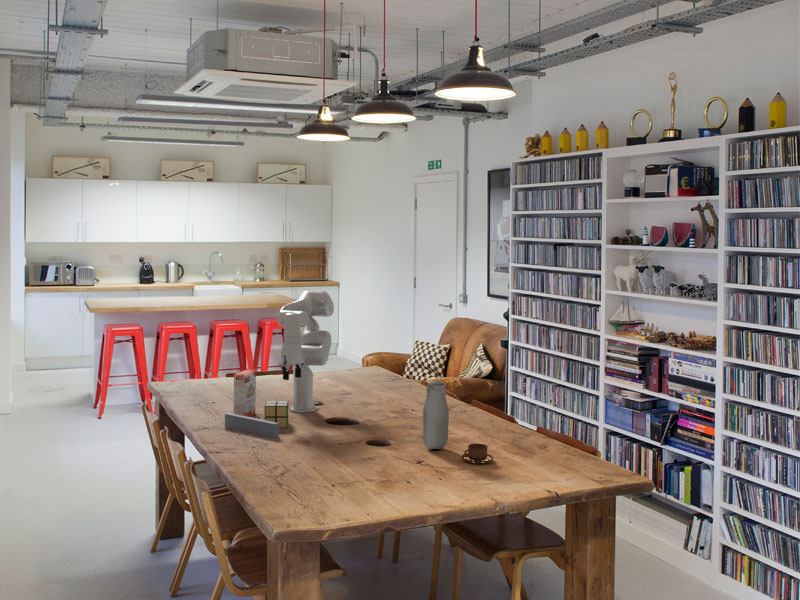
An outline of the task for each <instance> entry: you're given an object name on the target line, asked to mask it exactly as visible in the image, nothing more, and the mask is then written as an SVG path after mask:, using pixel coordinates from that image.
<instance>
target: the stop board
mask: <svg viewBox="0 0 800 600" xmlns="http://www.w3.org/2000/svg"><path fill="white" fill-rule="evenodd" d="M224 428H227V429H231V430H236V431H241V432H244V433H245V432H246V433H249V434H254V435H260V436H263V437H268V438H273V439H277V438H280V428H279V423H276V422H271V421H266V420H265V419H260V418H255V417H252V416H250V417H247V416H242V415H237V414H233V413H231V412H226V413H224Z"/></svg>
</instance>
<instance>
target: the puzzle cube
mask: <svg viewBox="0 0 800 600" xmlns="http://www.w3.org/2000/svg"><path fill="white" fill-rule="evenodd" d="M289 403H290V402H289V401H288V400H286V401H285V400H283V401H282V400H279V401H275V400H273V401H271V400H269V401H268V400H266V402H265V405H264V420H266V421H271V422H276V423H279V429H287V428H288V426H289V410H290V405H289Z"/></svg>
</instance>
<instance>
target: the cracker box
mask: <svg viewBox="0 0 800 600" xmlns="http://www.w3.org/2000/svg"><path fill="white" fill-rule="evenodd" d="M256 391H257V370H253V369H252V370H251V369H245V370H241V371H240V372H238V373H234V374H233V410H232V411H233V414H237V415H242V416H247V417H252V416H253V415H255V414H256V400H257V399H256V397H257V395H256V394H257V392H256Z"/></svg>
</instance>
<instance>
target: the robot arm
mask: <svg viewBox="0 0 800 600" xmlns="http://www.w3.org/2000/svg"><path fill="white" fill-rule="evenodd" d="M334 312H335V305H334V302H333V300H332V298H331V295H330V294H329V293H328V292H327V291H325V290H305V291H303V292H302V293H301V295H299V297H298V299H297V300H296V301H293V302H290V303H287V304H285V305H283V306H282V307H281V309H280V311H278V315H277V322H278V325H279V326H280V327H282V328H283V343H282V346H281V352H280V361H279V362H278V366H279V368H280V369H281V371H282V380H284V381H289V380H290V371H289V369H290V367H291V366H292V371H293V373H292V374H293V379H292V380H293V384H292V386H293V387H292V390H293V391H292V393H293V394H292V406H289V411H291V412H292V413H299V414H300V413H302V414H304V413H312V412H315V411H316V410H317V407H316V406H315V405H318V404H319V403H320V401H319V399H314V374H313V371H312V369H311V368H310V366H316V367H317V366H319V367H320V366H321V367H322V366H325V365H326V364H327V363H328V359H329V355H330V350H331V347H332V335H331V333H330V332H329V331H328V330H320V324H319V322H318V321H317V320H316V319H315V318H314V317H332V315H333V314H334Z"/></svg>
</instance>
